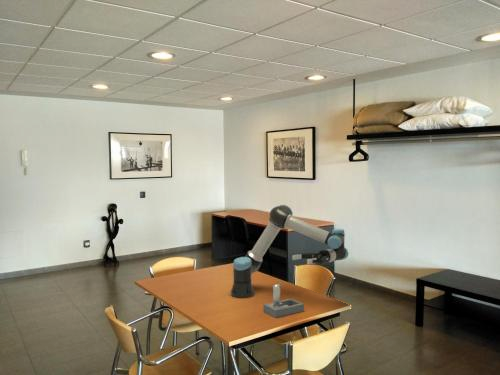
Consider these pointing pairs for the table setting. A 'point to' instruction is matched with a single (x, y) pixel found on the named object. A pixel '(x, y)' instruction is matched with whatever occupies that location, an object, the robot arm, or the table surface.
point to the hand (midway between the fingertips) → (299, 259)
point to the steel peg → (276, 294)
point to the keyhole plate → (283, 308)
